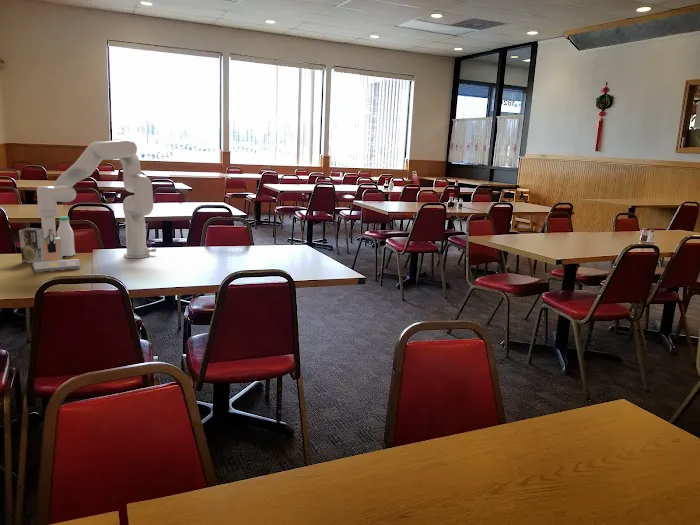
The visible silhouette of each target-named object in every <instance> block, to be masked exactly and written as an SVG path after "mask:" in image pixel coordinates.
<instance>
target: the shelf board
mask: <svg viewBox="0 0 700 525" xmlns="http://www.w3.org/2000/svg"><path fill="white" fill-rule="evenodd" d="M32 269H33V271H34V273H35V272H37V273H42V272H41V271H50V272H53V271H52V270H62V271H64V270H63V269H74V270H80V269H81V264H80V258H79V259H77V258H76V259H62V260H60V261H46V262H34V263H32Z"/></svg>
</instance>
